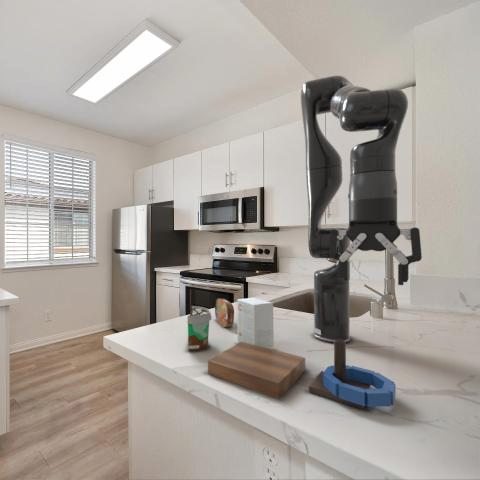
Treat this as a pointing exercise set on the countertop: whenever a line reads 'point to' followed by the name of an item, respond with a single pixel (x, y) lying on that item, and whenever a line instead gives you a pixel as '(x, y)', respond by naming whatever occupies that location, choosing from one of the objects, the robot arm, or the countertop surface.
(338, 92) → the robot arm
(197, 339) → the food container
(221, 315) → the mottled orange brown slab
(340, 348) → the ring stand
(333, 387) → the ring
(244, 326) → the small box
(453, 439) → the countertop surface
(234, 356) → the platform
